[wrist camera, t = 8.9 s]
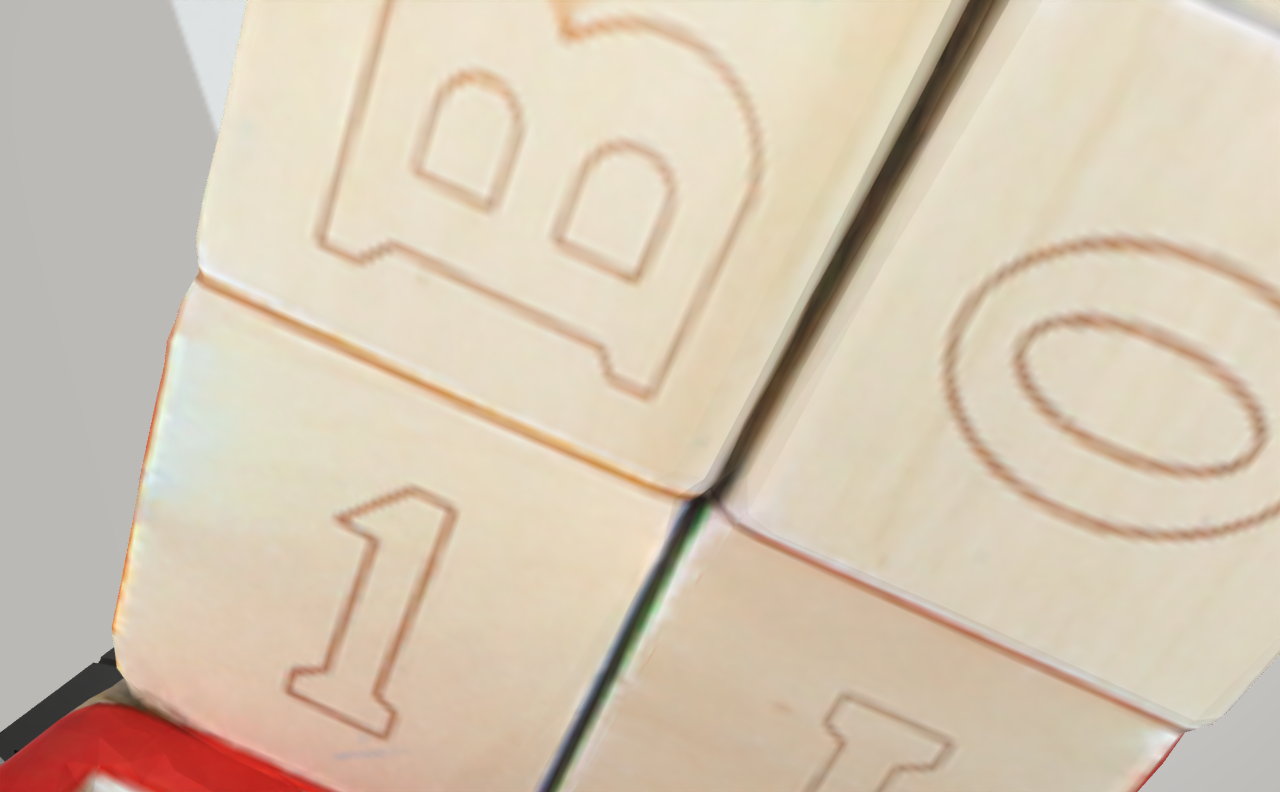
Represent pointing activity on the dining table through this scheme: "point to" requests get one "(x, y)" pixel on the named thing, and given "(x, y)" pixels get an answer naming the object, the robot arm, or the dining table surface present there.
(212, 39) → the dining table surface
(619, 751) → the stack of blocks
